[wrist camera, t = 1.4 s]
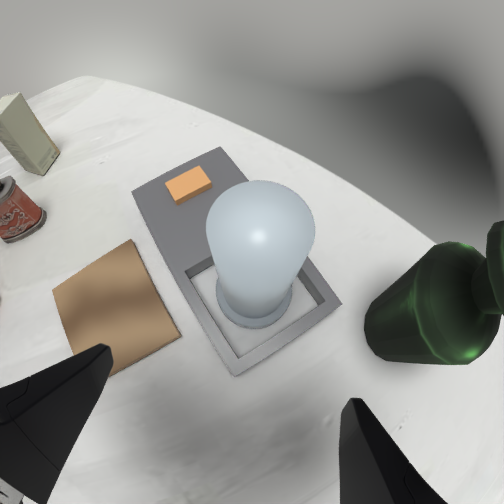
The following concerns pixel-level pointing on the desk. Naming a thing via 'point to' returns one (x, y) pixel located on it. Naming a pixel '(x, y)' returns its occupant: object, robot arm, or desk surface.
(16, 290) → the desk surface
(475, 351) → the potion bottle
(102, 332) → the coaster
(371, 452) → the robot arm
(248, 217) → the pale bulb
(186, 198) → the gray switch base
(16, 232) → the lighter
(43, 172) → the skincare box
